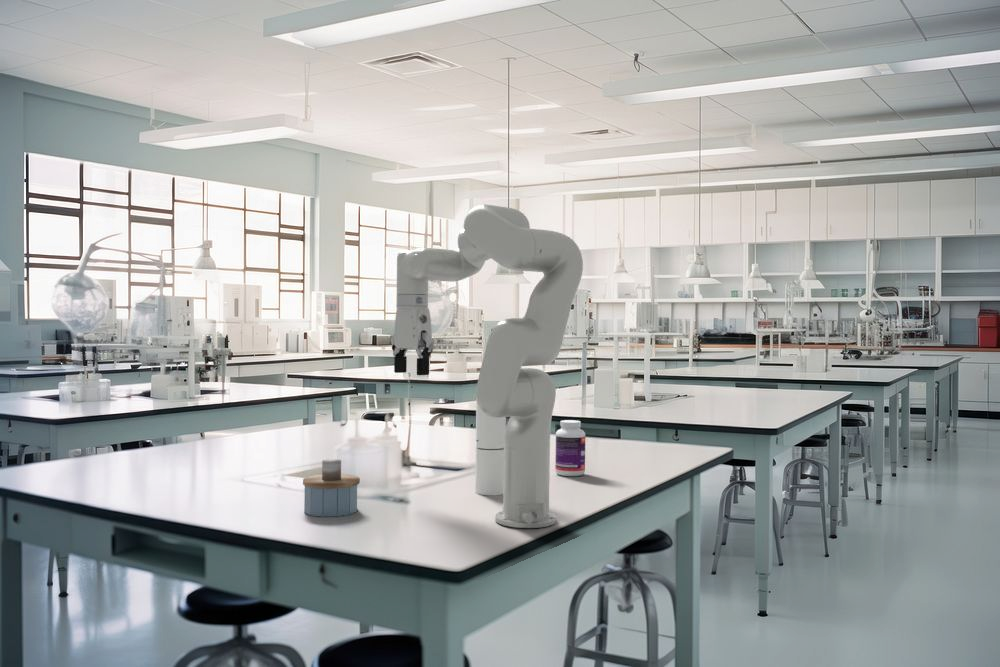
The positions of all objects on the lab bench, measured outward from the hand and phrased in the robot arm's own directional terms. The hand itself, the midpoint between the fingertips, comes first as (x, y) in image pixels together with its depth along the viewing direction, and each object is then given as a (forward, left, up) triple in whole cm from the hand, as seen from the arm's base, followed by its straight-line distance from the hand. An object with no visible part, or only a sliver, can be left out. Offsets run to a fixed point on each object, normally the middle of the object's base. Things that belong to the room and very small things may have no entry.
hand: (411, 373), depth 197 cm
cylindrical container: (-3, -19, -28) cm, 34 cm away
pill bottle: (+17, -44, -28) cm, 55 cm away
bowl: (-18, +18, -28) cm, 38 cm away
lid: (-18, +18, -22) cm, 34 cm away
